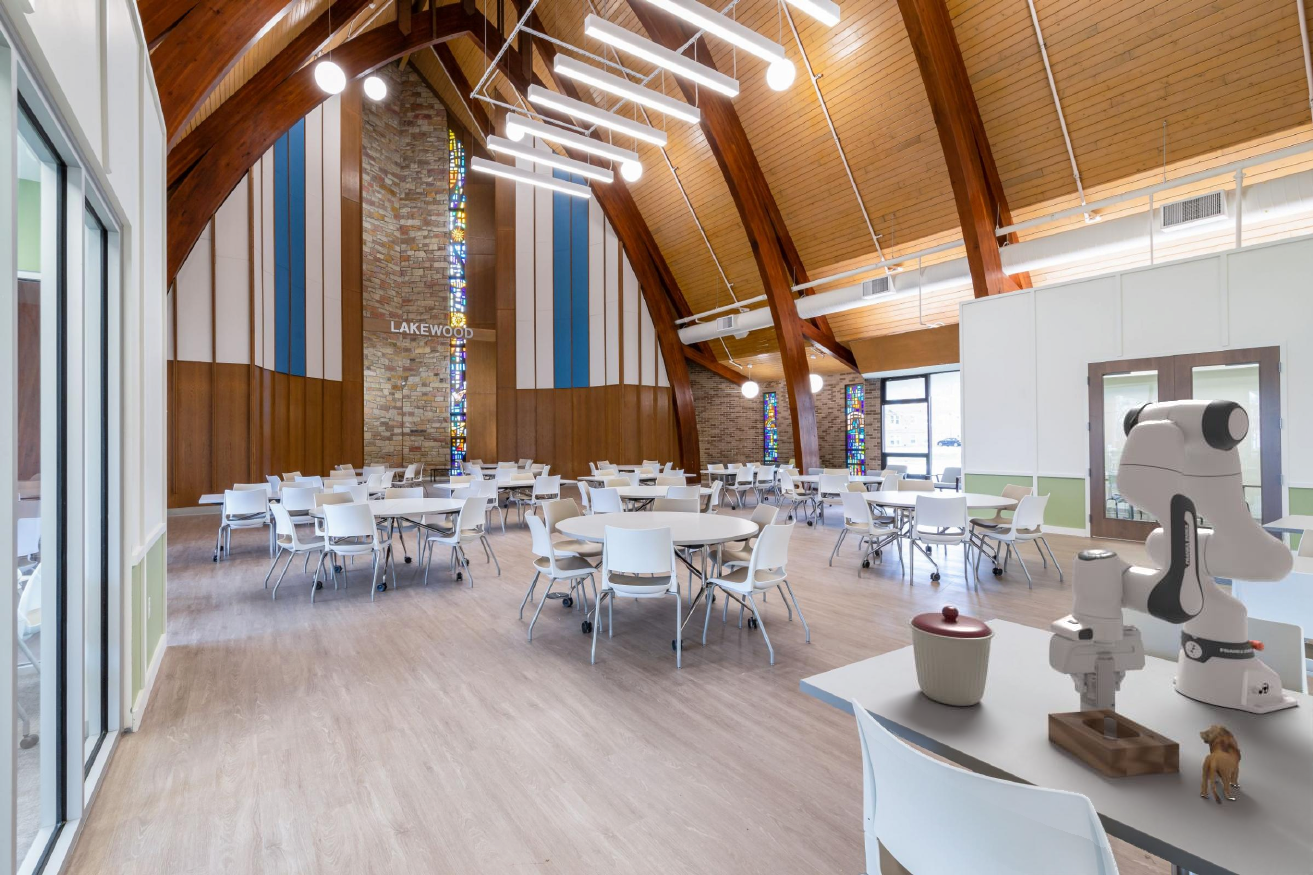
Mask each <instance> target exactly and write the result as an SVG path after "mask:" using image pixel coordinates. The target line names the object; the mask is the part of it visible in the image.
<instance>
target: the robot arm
mask: <svg viewBox="0 0 1313 875" xmlns="http://www.w3.org/2000/svg"><path fill="white" fill-rule="evenodd" d="M1122 425H1123V431H1124V435H1125V436H1126V440H1125V443H1124V445H1123V448H1122V451H1121V455H1120V459H1119V463H1118V467H1117V474H1116V482H1115V483H1116V490H1117V492H1118V494H1119V496H1121V498H1122V499H1123V500H1124V501H1125V502H1126V503H1127V504H1129V505H1130V506H1131V507H1133V508H1134V509H1137V510H1138V511H1140V512H1143V513H1145V514H1147V515H1148V516H1151V517H1152V518H1153V519H1154V520H1156V521H1157V522H1158V523H1159V525H1160V526H1161V527H1157V528H1155V529H1153V530H1152V531H1151V532H1150V533H1149V535H1147V538H1146V540H1145V552H1146V555H1147V557H1148V558H1149V560H1150V561H1151V562H1152V563H1153V564H1154V565H1155V566H1157V567H1158V568H1160V569H1161V570H1159V569H1153V568H1149V567H1145V566H1140V565H1135V564H1133V563H1130V562H1128V561H1126V560H1123V559H1122V558H1121V557H1120V556H1119V554H1118V553H1117V552H1115V551H1113V550H1108V549H1105V548H1104V549H1103V548H1097V549H1093V548H1092V549H1084V550H1082V551H1080V552H1078V553H1077V554H1076V556H1075V557H1074V559H1073V560H1074V561H1073V564H1072V565H1073V566H1072V573H1071V574H1072V575H1071V591H1072V595H1073V598H1074V600H1073V604H1072V608H1071V612H1072V613H1069V614H1068V615H1066V616H1064V617H1061V618H1059V619H1058V620H1057V619H1056V620H1054V621H1053V622H1051V623H1050V631H1051V632H1052V633H1054V634H1052V636H1051V637H1050V639H1049V640H1050V641H1049V647H1048V661H1049V666H1051V668H1052V669H1053V670H1054V671H1056V672H1058V673H1061V674H1063V675H1069V676H1070V678H1071V679H1072V681H1073V683H1074V690H1075V692H1076V693H1079V694H1080V693H1087V692H1088V690H1087V689H1088V685H1086V684H1084V683H1083V681H1082V679H1081V678H1083V673H1093V672H1094V671H1095V660H1096V658H1097V656H1098V654H1096V653H1104V652H1111V655H1112V657H1113V658H1114V660H1115V692H1120V691H1121V684H1122V682H1123V680H1124V679H1125V677H1126V671H1128V672H1129V671H1141V670H1143V669H1144V668H1145V667H1146V666H1145V665H1146V656H1145V650H1144V644H1143V640H1142V634H1141V631H1140V629H1138V627H1136V626H1135V625H1133V624H1127V625H1124V613H1123V611H1122V609H1123V608H1124V609H1127V610H1130V611H1133V612H1136V613H1141V614H1144V615H1148V616H1151V617H1154V618H1156V619H1159V620H1161V621H1165V622H1168V623H1170V624H1174V625H1180V624H1183V629H1182V630H1181V631H1180V636H1179V637H1180V645H1181V646H1182V649H1180V650H1179V653H1178V663H1177V671H1176V676H1173V680H1172V681H1173V683H1175V685H1174V689H1175V690H1176V691H1177V692H1179V693H1180V694H1182V695H1184V696H1186V697H1189V698H1191V699H1193V700H1197V701H1200V702H1203V703H1207V704H1209V705H1210V704H1211V705H1215V706H1219V707H1224V708H1230V709H1238V710H1241V711H1245V712H1248V713H1249V712H1251V713H1254V714H1265V713H1270V712H1274V711H1278V710H1282V709H1286V708H1290V707H1295V706H1298V704H1299V703H1298V700H1297V699H1296V698H1294V697H1292V696H1290V695H1289V694H1286V693H1284V692H1283V685H1282V679H1281V677H1280V675H1279V674H1278V673H1277V672H1275V671H1274V670H1273V669H1271V668H1270V667H1269V666H1267V665H1266V663H1263V662H1262V661H1261V660H1260V659H1258V658H1257V657H1256V655H1255V652H1254V650H1257V651H1258V652H1262V651H1264V649H1265V644H1264V643H1263V642H1261V641H1256V640H1255V639H1254V640H1253V639H1251V640H1249V639H1248V638H1249V637H1248V636H1249V634H1248V632H1249V631H1248V627H1249V626H1248V610H1247V608H1246V605H1244V604H1243V602H1242V601H1241V600H1239V599H1238V598H1237V597H1236V596H1233V595H1232V594H1230V593H1228V592H1227V591H1224V590H1223V589H1222V588H1221V587H1220V586H1219V585H1218V584H1217V582H1216V580H1215V578H1214V577H1216V578H1222V579H1226V580H1227V579H1228V580H1235V581H1242V582H1247V583H1250V582H1251V583H1277V582H1281V581H1283V580H1284V579H1285V578H1286V577H1288V576H1289V574H1290V573H1291V571H1292V570H1293V566H1294V558H1293V557H1294V556H1293V554H1292V552H1291V549H1290V548H1289V547H1288V545H1287V544H1285V543H1284V542H1283V541H1282V540H1281V539H1279V538H1278V537H1275V536H1274V535H1272V534H1271V533H1269V532H1268V531H1266V529H1264V528H1263V527H1262V526H1261V525H1260V524H1259V522H1257V521H1256V519H1255V517H1253V515H1252V514H1251V513H1250V511H1249V509H1248V507H1247V506H1248V505H1247V503H1246V499H1245V493H1244V488H1243V478H1242V477H1243V476H1242V465H1241V464H1242V463H1241V459H1240V458H1241V457H1240V453H1239V449H1238V445H1240V443H1242V441H1243V440H1244V439H1245V438H1246V437H1247V435H1248V432H1249V428H1250V426H1249V425H1250V419H1249V415H1248V413H1247V411H1246V409H1245V408H1244V407H1243V406H1242V405H1240V404H1239V403H1238V402H1235V401H1231V400H1226V399H1213V400H1210V399H1209V400H1207V399H1206V400H1205V399H1179V400H1172V401H1162V402H1156V403H1153V402H1147V403H1140V404H1138V405H1135V406H1133V407H1131V409H1130V410H1129V411H1128V412H1127V413H1126V414H1125V416H1124V418H1123V424H1122ZM1198 516H1199V517H1200V518H1202V519H1203V520H1204V521H1206V522H1207V523H1208V525H1209V526H1210V527H1211V529H1209V528H1199V526H1198Z"/></svg>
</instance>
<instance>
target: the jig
mask: <svg viewBox="0 0 1313 875" xmlns="http://www.w3.org/2000/svg"><path fill="white" fill-rule="evenodd" d="M1047 719H1048V722H1047V723H1048V724H1047V725H1048V728H1047V731H1048V732H1047V734H1048V735H1047V736H1048V738H1047V739H1048V740H1049V741H1051V742H1052V743H1054V744H1056V745H1057V746H1059V747H1060V748H1063V749H1064V750H1066V752H1068V753H1071V754H1072V755H1074V756H1075V757H1076V758H1079V759H1080V760H1082V761H1083V762H1085V763H1086V764H1088V765H1089V766H1091V767H1094V769H1097V770H1098V771H1100V772H1101V773H1102V774H1105V775H1106V776H1107V777H1110V778H1120V777H1132V776H1144V775H1154V774H1155V775H1157V774H1167V773H1169V774H1170V773H1177V772H1180V743H1179V742H1177V741H1175V740H1172V739H1170V738H1169V737H1167V736H1164V735H1163V734H1160V733H1158V732H1156V731H1154V730H1153V729H1150V728H1148V727H1146V726H1145V725H1143V724H1140V723H1138V722H1136V721H1134V720H1132V719H1129V718H1128V717H1126V716H1123V715H1122V714H1120V713H1118V712H1116V711H1115V712H1114V711H1112V710H1097V711H1082V712H1080V711H1072V712H1070V711H1069V712H1056V713H1055V712H1053V713H1048V716H1047Z"/></svg>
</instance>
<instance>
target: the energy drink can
mask: <svg viewBox="0 0 1313 875" xmlns="http://www.w3.org/2000/svg"><path fill="white" fill-rule="evenodd" d="M1096 654H1098V656H1097V658H1096V660H1095V671H1094V672H1093V673H1083V678H1081V679H1082V681H1083V683H1084V684H1086V685H1088V689H1087V690H1088V692H1087V693H1079V699H1080V704H1079V706H1080V708H1079V710H1080V711H1079V712H1082V711H1097V710H1112V711H1114V712H1116V691H1115V660H1114V658H1113V657H1112V655H1111V652H1104V653H1096Z"/></svg>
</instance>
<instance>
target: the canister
mask: <svg viewBox="0 0 1313 875" xmlns="http://www.w3.org/2000/svg"><path fill="white" fill-rule="evenodd" d="M907 623H908V626H909V627H910V628H911V629H910V630H911V636H912V647H913V654H914V656H913V657H914V662H915V663H914V664H915V670H916V671H915V672H916V678H917V681H918V682H917V683H918V686H919V689H920V690H921V691H922V693H923V694H924V695H925V696H926V697H927V698H929V699H931V700H933V701H936V702H938V703H940V704H941V703H942V704H945V705H950V706H956V707H966V706H967V707H968V706H973V705H977V704H978V703H979V702H980V701H981V700H982V699H983V696H984V693H985V690H986V685H987V684H986V682H987V677H988V670H989V669H988V668H989V662H990V661H989V660H990V651H991V643H992V638H994V636H995V633H996V632H995V631H994V629H993V628H992V627H990V626H988V625H987V624H986V623H985V622H983V621H982V620H979V619H976V618H974V617H970V616H966V615H961V614H960V613H959V610H958V609H957V607H955V606H951V605H946V606H944V607H942V610H941V612H926V613H925V612H924V613H921V614H918V615H916V616H914V617H912V618H910V619H909V620H908V622H907Z"/></svg>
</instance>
